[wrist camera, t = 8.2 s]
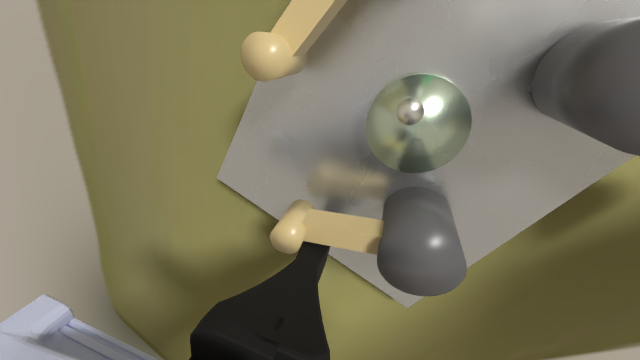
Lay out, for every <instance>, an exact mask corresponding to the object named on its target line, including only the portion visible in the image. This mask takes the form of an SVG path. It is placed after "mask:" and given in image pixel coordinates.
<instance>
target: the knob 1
mask: <svg viewBox="0 0 640 360" xmlns="http://www.w3.org/2000/svg"><path fill="white" fill-rule="evenodd" d="M346 2H347V0H292V1H291V3H290V4H289V6H288V7H287V8H286V10H285V11H284V13H283V14H282V16H281V17H280V19H279V20H278V22H277V23H276V25H275V26H274V28H273V29H272V31H271V32H270V33H268V32H254V33H252V34H250V35H249V36H248V37H247V38H246V39H245V41H244V43H243V45H242V49H241V58H242V63H243V66H244V68H245V70H246V71H247V73H248V74H249V75H250V76H251V77H253V78H254V79H256V80H258V81H262V82H267V81H271V80H275V79H279V78H283V77H287V76H291V75H295V74H298V73H299V72H301V71H302V70H303V69H304V67H305V65H306V62H307V51H308V50H309V49H310V47H311V46H312V45H313V44H314V42H315V41H316V40H317V38H318V37H319V36H320V35H321V33H322V32H323V31H324V30H325V28H326V27H327V26H328V25H329V23H330V22H331V21H332V19H333V18H334V17H335V16H336V14H337V13H338V12H339V11H340V9H341V8H342V7H343V6H344V4H345V3H346Z"/></svg>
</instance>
